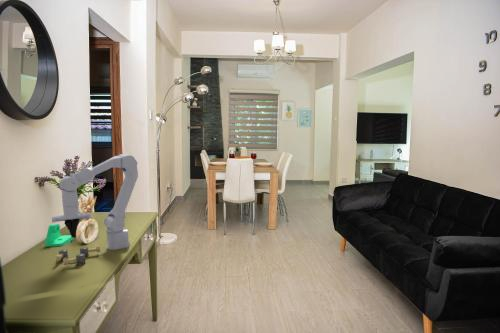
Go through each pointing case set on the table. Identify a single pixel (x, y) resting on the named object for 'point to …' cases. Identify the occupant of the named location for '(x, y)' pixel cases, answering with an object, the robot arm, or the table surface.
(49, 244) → the camera mount
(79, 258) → the knob
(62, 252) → the knob
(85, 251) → the knob
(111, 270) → the table surface
